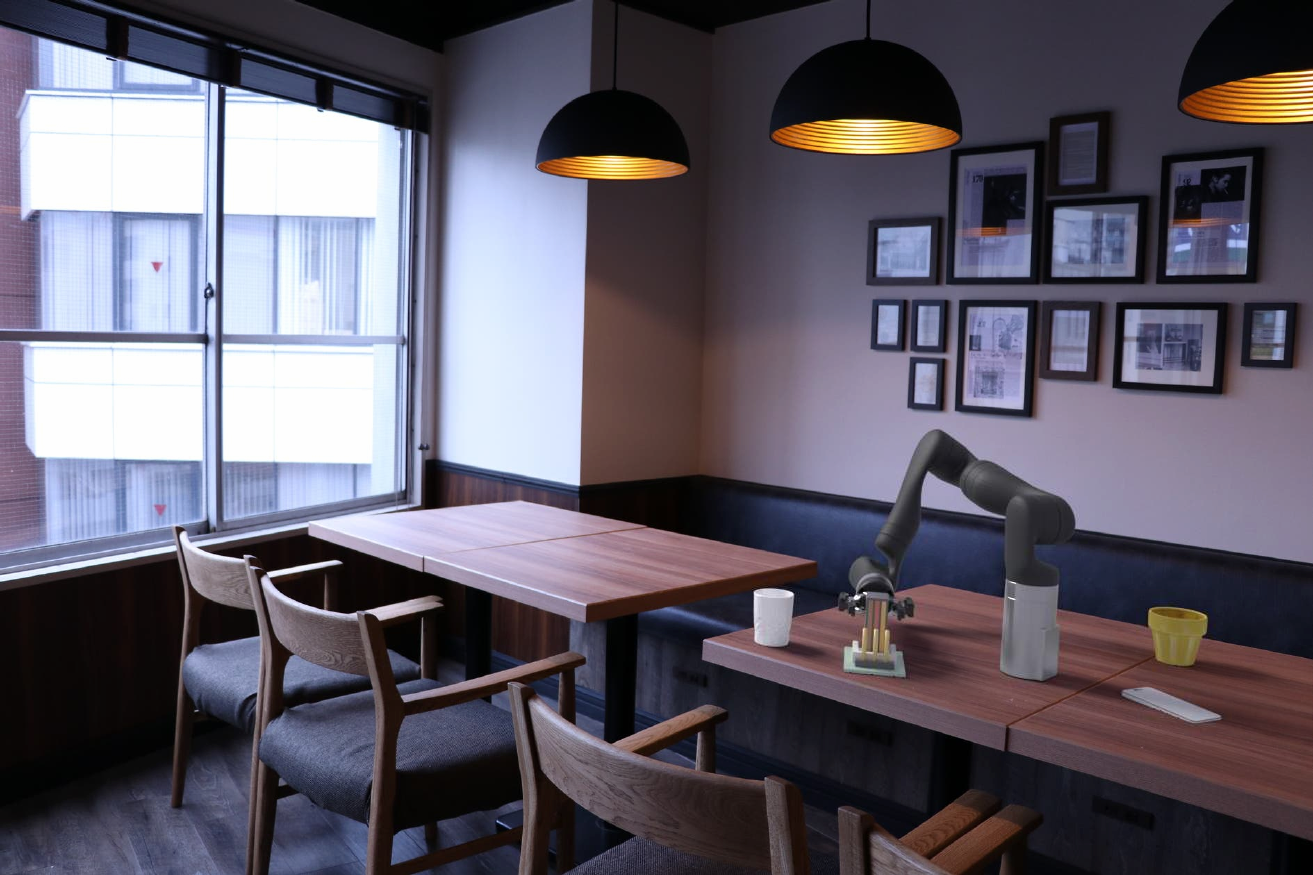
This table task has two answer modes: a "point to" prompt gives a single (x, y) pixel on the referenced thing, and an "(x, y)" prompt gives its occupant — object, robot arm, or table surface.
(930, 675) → the table surface
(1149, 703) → the smartphone
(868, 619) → the block
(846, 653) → the header board
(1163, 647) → the plant pot
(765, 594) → the white cup
